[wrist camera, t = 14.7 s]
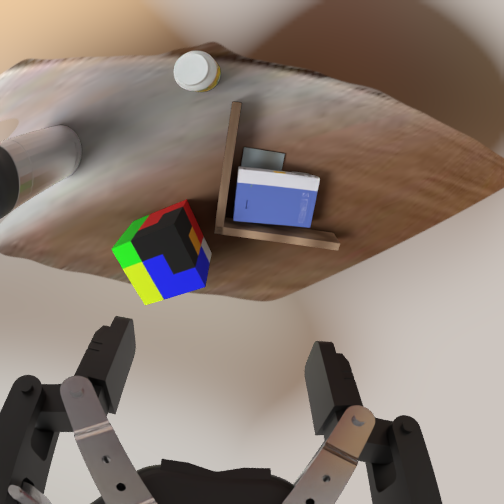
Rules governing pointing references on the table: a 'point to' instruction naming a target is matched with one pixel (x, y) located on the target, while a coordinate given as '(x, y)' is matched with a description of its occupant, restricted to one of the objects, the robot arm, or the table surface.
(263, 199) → the walkman
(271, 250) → the table surface
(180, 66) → the supplement bottle
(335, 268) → the table surface
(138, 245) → the puzzle toy
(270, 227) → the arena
